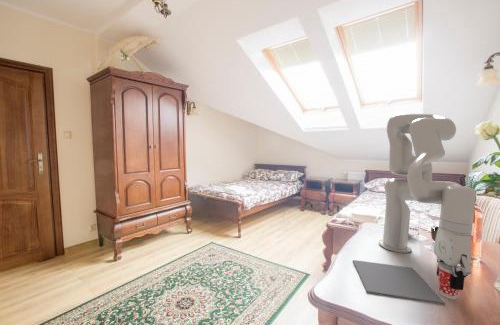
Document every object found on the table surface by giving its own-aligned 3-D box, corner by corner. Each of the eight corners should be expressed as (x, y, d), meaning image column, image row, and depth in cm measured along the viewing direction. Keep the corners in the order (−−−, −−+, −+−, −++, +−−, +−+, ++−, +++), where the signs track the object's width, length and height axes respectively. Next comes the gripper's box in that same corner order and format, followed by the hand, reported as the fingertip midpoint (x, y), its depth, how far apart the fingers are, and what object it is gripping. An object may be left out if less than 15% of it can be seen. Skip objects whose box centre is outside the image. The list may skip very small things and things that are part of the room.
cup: (443, 250, 105) (445, 232, 104) (425, 243, 112) (427, 227, 111) (453, 247, 108) (454, 231, 107) (435, 241, 115) (436, 225, 114)
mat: (352, 261, 92) (352, 259, 92) (412, 269, 87) (412, 267, 87) (366, 292, 72) (367, 290, 72) (444, 304, 68) (444, 302, 68)
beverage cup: (435, 285, 77) (439, 245, 76) (460, 293, 73) (465, 251, 72) (434, 294, 73) (439, 251, 71) (461, 303, 69) (466, 258, 68)
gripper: (426, 216, 80) (421, 266, 82) (459, 235, 64) (452, 298, 65) (451, 218, 79) (446, 269, 80) (492, 238, 62) (484, 302, 63)
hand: (449, 281), depth 73 cm, fingers closed on beverage cup, 6 cm apart
